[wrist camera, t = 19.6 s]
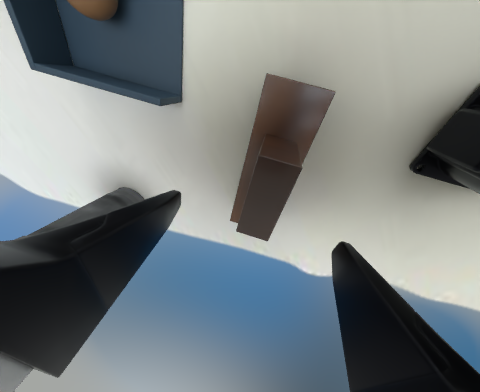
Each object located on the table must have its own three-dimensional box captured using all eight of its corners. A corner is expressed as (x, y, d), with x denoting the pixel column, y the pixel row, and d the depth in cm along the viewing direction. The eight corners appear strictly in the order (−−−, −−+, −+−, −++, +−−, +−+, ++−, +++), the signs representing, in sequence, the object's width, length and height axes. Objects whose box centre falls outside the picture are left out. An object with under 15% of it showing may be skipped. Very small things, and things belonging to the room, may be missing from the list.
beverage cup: (142, 229, 26) (-87, 468, 10) (99, 196, 24) (-277, 430, 8) (166, 207, 23) (-134, 528, 6) (117, 166, 21) (-508, 487, 4)
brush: (327, 90, 13) (364, 96, 7) (271, 217, 20) (266, 272, 14) (269, 74, 13) (258, 68, 7) (235, 206, 20) (216, 255, 15)
